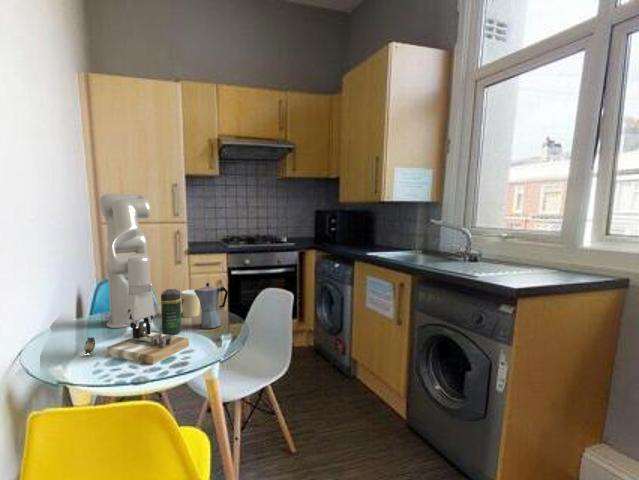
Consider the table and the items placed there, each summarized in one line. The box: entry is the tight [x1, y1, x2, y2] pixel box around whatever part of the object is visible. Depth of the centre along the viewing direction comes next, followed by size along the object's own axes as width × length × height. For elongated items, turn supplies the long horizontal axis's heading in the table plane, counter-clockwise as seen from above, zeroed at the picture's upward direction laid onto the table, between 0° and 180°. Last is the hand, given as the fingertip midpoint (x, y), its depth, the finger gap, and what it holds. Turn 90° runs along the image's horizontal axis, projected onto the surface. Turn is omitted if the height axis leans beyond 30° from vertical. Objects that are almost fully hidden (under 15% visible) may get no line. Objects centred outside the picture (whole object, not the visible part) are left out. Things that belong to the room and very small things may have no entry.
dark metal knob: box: [134, 320, 160, 344], centre depth 138 cm, size 13×4×7 cm, turn 69°
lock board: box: [106, 331, 190, 365], centre depth 138 cm, size 22×18×6 cm
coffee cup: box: [180, 289, 201, 318], centre depth 183 cm, size 9×9×12 cm
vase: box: [78, 336, 96, 357], centre depth 135 cm, size 5×5×6 cm
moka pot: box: [194, 282, 229, 330], centre depth 166 cm, size 10×15×20 cm, turn 95°
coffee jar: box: [160, 288, 182, 336], centre depth 158 cm, size 10×8×19 cm
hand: (141, 335), depth 139 cm, fingers closed on dark metal knob, 4 cm apart
